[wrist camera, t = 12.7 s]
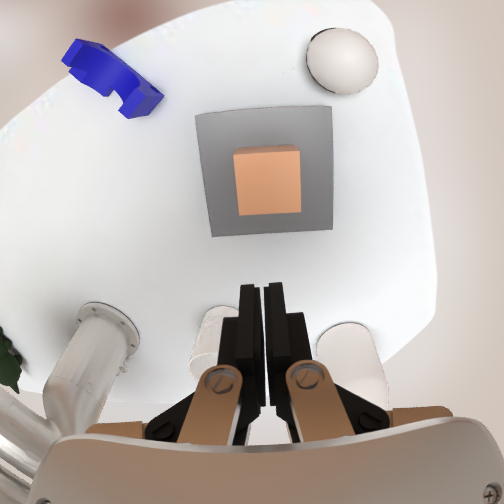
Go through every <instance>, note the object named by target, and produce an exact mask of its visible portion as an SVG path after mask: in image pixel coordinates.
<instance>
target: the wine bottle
mask: <svg viewBox="0 0 504 504" xmlns="http://www.w3.org/2000/svg"><path fill="white" fill-rule="evenodd" d="M317 357H318V362H320V363H322V364H323V365H324V366H326V368H327V369H328V371H329V373H330V375H331V378H332V380H333V382H334V383H335V384H337V385H339V386H341V387H343V388H345V389H346V390H348V391H350V392H352V393H354V394H356V395H358V396H360V397H362V398H363V399H365V400H367V401H369V402H371V403H373V404H375V405H377V406H379V407H381V408H382V409H384V410H385V411H388V403H389V387H388V383H387V380H386V377H385V374H384V371H383V368H382V365H381V362H380V359H379V356H378V353H377V350H376V347H375V345H374V342H373V339H372V336H371V334H370V332H369V331H368V330H367V329H366V328H365V327H363V326H362V325H359V324H355V323H346V324H341V325H337V326H335V327H333V328H331V329H329V330H328V331H326V332H325V333H324V334H323V335H322V336H321V338H320V339H319V341H318V344H317Z"/></svg>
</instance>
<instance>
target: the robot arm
mask: <svg viewBox="0 0 504 504" xmlns="http://www.w3.org/2000/svg"><path fill="white" fill-rule="evenodd" d="M264 308H265V336H266V360H267V372H268V384H269V397H270V406H276V415H277V416H278V417H280V418H281V419H283V420H284V421H286V427H287V431H288V434H289V438H290V442H291V444H278V445H257V446H256V445H255V446H247V444H248V440H249V435H250V430H251V422H253V421H254V420H255V419H256V418H257V417H259V414H260V413H261V411H260V407H264V406H266V392H265V354H264V332H263V321H262V309H261V298H260V287H254V284H247V285H241V287H240V299H239V313H238V317H224V318H223V322H222V330H221V337H220V345H219V352H218V360H217V365H216V366H213V367H211V368H209V369H207V370H206V371H205V372H204V373H203V374H202V376H201V377H200V380H199V382H198V385H197V388H196V391H195V392H193V393H192V394H190V395H189V396H188V397H186V398H185V399H183V400H182V401H180V402H178V403H177V404H175V405H174V406H172V407H171V408H169V409H168V410H166V411H165V412H163V413H161V414H160V415H158V416H157V417H155V418H154V419H152V420H151V421H150V422H149V423H143V422H142V421H136V422H121V423H98V424H97V422H98V419H99V417H100V414H101V411H102V409H103V406H104V404H105V401H106V399H107V396H108V394H109V391H110V389H111V387H112V384H113V382H114V379H115V377H116V376H117V375H119V374H120V370H121V371H122V372H123V373H124V372H126V371H127V367H126V365H125V364H124V361H125V359H126V357H127V356H129V355H131V354H133V353H134V352H135V351H136V350H137V348H138V345H139V335H138V332H137V330H136V328H135V327H134V325H133V324H132V323H131V321H130V320H129V319H128V318H127V317H126V316H125V315H123V314H122V313H121V312H119V311H118V310H116V309H114V308H112V307H110V306H108V305H105V304H101V303H88V304H85V305H84V306H83V307H81V309H80V310H79V312H78V314H77V325H78V329H77V331H76V332H75V334H74V335H73V337H72V339H71V340H70V342H69V344H68V345H67V347H66V349H65V350H64V352H63V354H62V355H61V357H60V359H59V360H58V362H57V364H56V366H55V367H54V369H53V371H52V373H51V375H50V376H49V378H48V380H47V382H46V384H45V386H44V389H43V404H44V409H45V413H46V417H47V420H46V419H44V418H43V417H41V416H39V415H38V414H36V413H35V412H33V411H32V410H31V409H29V408H28V407H27V406H25V405H24V404H23V403H21V402H20V401H19V400H18V399H16V398H15V397H14V396H12V395H11V394H10V393H9V392H7V391H6V390H4V389H3V388H1V387H0V457H1V458H2V459H3V460H5V461H6V462H8V463H9V464H11V465H12V466H14V467H15V468H17V470H19V471H21V472H22V473H24V474H25V475H27V476H28V477H30V478H32V479H33V482H32V485H30V484H29V483H27V482H26V481H24V480H23V479H21V478H19V477H18V476H16V475H15V474H13V473H12V472H10V471H9V470H7V469H6V468H4V467H3V466H2V465H0V504H504V458H503V456H502V454H501V451H500V449H499V447H498V445H497V443H496V441H495V439H494V438H493V436H492V434H491V433H490V431H489V430H488V429H487V428H486V427H485V425H483V424H482V423H481V422H479V421H477V420H474V419H470V418H465V417H453V414H452V412H451V411H450V410H449V409H447V408H445V407H443V406H430V407H414V408H393V409H392V411H385V410H384V409H382V408H381V407H379V406H377V405H375V404H373V403H371V402H369V401H367V400H365V399H363V398H362V397H360V396H358V395H356V394H354V393H352V392H350V391H348V390H346V389H345V388H343V387H341V386H339V385H337V384H335V383H334V382H333V380H332V378H331V375H330V373H329V371H328V369H327V368H326V366H324V365H323V364H322V363H320V362H317V361H315V360H312V355H311V349H310V344H309V339H308V334H307V328H306V323H305V318H304V314H303V312H299V313H286V309H285V301H284V294H283V286H282V282H276V283H269V287H264ZM119 368H120V370H119Z"/></svg>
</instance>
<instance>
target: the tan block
mask: <svg viewBox="0 0 504 504" xmlns="http://www.w3.org/2000/svg"><path fill="white" fill-rule="evenodd" d="M233 159H234V169H235V179H236V188H237V198H238V208H239V216H241V215H257V214H275V213H294V212H301V180H300V151H299V150H298V148H297V147H296V146H295V145H278V146H261V147H246V148H237V149H236V151H235V152H234V154H233Z"/></svg>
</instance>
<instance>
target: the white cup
mask: <svg viewBox="0 0 504 504" xmlns="http://www.w3.org/2000/svg"><path fill="white" fill-rule="evenodd" d="M238 313H239V311H238V310H236V309H235V308H232V307H227V306H219V307H214V308H212V309H210V310H209V311H207V312H206V314H205V316H204V318H203V321H202V325H201V326H200V329H199V332H198V335H197V337H196V340H195V344H194V347H193V350H192V354H191V357H190V360H189V363H188V371H189V373H190V375H191V376H192V377H193V378H194V379H195V380H196V381H198V382H199V380H200V377H201V376H202V374H203V373H204V372H205V371H206V370H207V369H209V368H211V367H213V366H216V365H217V360H218V352H219V345H220V337H221V330H222V322H223V318H224V317H238Z"/></svg>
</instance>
